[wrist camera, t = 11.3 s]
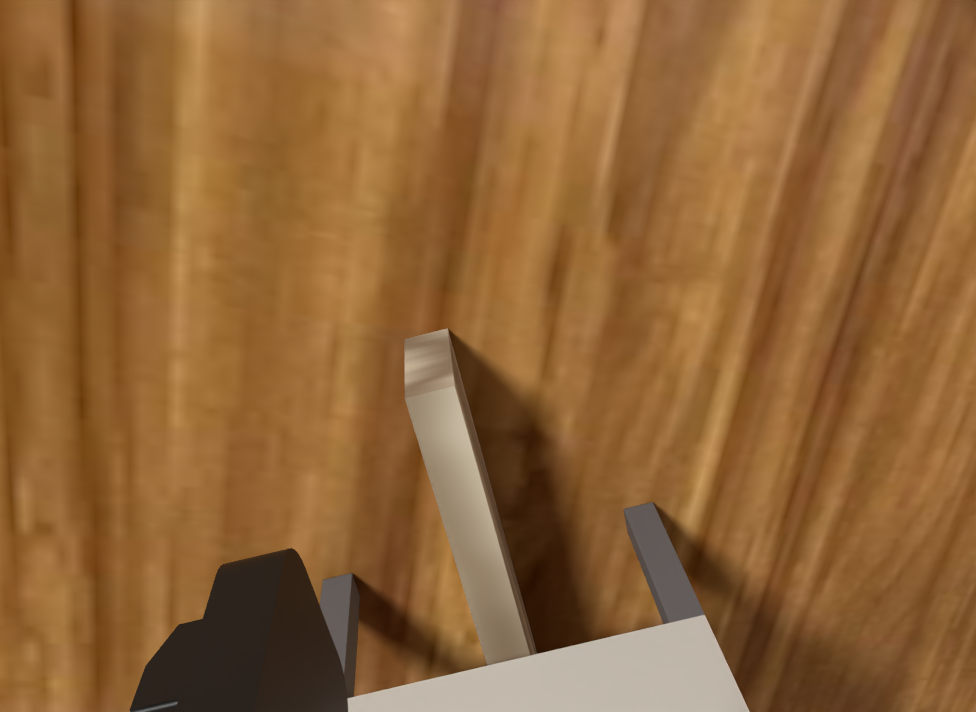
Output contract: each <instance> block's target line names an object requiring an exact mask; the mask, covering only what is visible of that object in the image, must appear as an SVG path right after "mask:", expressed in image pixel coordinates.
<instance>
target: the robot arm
mask: <svg viewBox="0 0 976 712" xmlns="http://www.w3.org/2000/svg"><path fill="white" fill-rule="evenodd" d="M130 712H348V698H347V690H346V683H345V678H344V673H343V669H342V665H341V661H340V658H339V655H338V652H337V650H336V647H335V645H334V642H333V639H332V637H331V634H330V631H329V629H328V626H327V624H326V621H325V618H324V616H323V613H322V611H321V608H320V605H319V603H318V600H317V597H316V595H315V592H314V590H313V587H312V584H311V582H310V579H309V577H308V574H307V571H306V569H305V566H304V564H303V561H302V559H301V558H300V556H299V554H298V553H297V552H296V551H295V550H294V549H292V548H291V549H286V550H282V551H277V552H273V553H269V554H264V555H260V556H256V557H252V558H247V559H243V560H239V561H235V562H230V563H226V564H223V565H221V566H220V568H219V569H218V571H217V574H216V577H215V580H214V583H213V587H212V590H211V593H210V597H209V600H208V603H207V607H206V610H205V613H204V617H203V619H201V620H197V621H192V622H188V623H184V624H179V625H178V626H177V627H176V629H175V630H174V631H173V632H172V634H171V635H170V636H169V637H168V639H167V640H166V641H165V642H164V644H163V645H162V646H161V647H160V649H159V650H158V651H157V652H156V654H155V655H154V656H153V657H152V659H151V660H150V661H149V662H148V664H147V665H146V666H145V669H144V672H143V675H142V677H141V680H140V683H139V686H138V688H137V691H136V694H135V697H134V699H133V702H132V705H131V708H130Z"/></svg>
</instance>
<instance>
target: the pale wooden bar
mask: <svg viewBox="0 0 976 712" xmlns="http://www.w3.org/2000/svg"><path fill="white" fill-rule="evenodd" d="M405 400H406V404H407V407H408V410H409V413H410V417H411V420H412V423H413V426H414V430H415V433H416V436H417V439H418V443H419V446H420V449H421V452H422V456H423V459H424V462H425V465H426V469H427V472H428V475H429V478H430V482H431V485H432V488H433V491H434V495H435V498H436V501H437V504H438V508H439V511H440V514H441V517H442V520H443V524H444V527H445V530H446V533H447V537H448V540H449V543H450V546H451V550H452V553H453V556H454V559H455V563H456V566H457V569H458V572H459V576H460V579H461V582H462V585H463V589H464V592H465V595H466V598H467V602H468V605H469V608H470V611H471V615H472V618H473V621H474V624H475V628H476V631H477V634H478V637H479V641H480V644H481V647H482V650H483V653H484V657H485V660H486V663H487V666H488V665H492V664H497V663H501V662H505V661H509V660H514V659H518V658H522V657H526V656H531V655H535V654H537V651H536V647H535V643H534V640H533V636H532V632H531V629H530V625H529V622H528V618H527V614H526V611H525V607H524V603H523V600H522V596H521V593H520V589H519V585H518V582H517V578H516V574H515V571H514V567H513V563H512V560H511V556H510V553H509V549H508V545H507V542H506V538H505V534H504V531H503V527H502V524H501V520H500V516H499V513H498V509H497V505H496V502H495V498H494V495H493V491H492V487H491V484H490V480H489V476H488V473H487V469H486V466H485V462H484V458H483V455H482V451H481V447H480V444H479V440H478V437H477V433H476V429H475V426H474V422H473V418H472V415H471V411H470V408H469V404H468V400H467V397H466V393H465V389H464V386H463V382H462V379H461V375H460V371H459V368H458V364H457V360H456V357H455V353H454V349H453V346H452V342H451V339H450V335H449V331H448V329H444V330H440V331H436V332H432V333H428V334H424V335H420V336H416V337H412V338H408V339H405Z"/></svg>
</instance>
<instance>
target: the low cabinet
mask: <svg viewBox="0 0 976 712" xmlns="http://www.w3.org/2000/svg"><path fill="white" fill-rule="evenodd" d="M624 514H625V519H626V525H627V530H628V534H629V537H630V539H631V542H632V544H633V547H634V550H635V552H636V555H637V557H638V560H639V562H640V565H641V567H642V570H643V572H644V575H645V577H646V580H647V583H648V585H649V588H650V590H651V593H652V595H653V598H654V600H655V603H656V605H657V608H658V610H659V613H660V615H661V618H662V621H663V623H664V624H663V625H659V626H654V627H650V628H646V629H642V630H637V631H633V632H629V633H624V634H620V635H616V636H612V637H607V638H603V639H599V640H595V641H590V642H586V643H582V644H578V645H573V646H569V647H565V648H561V649H556V650H552V651H548V652H543V653H539V654H535V655H531V656H526V657H522V658H518V659H514V660H509V661H505V662H501V663H497V664H492V665H488V666H484V667H480V668H475V669H471V670H467V671H462V672H458V673H454V674H450V675H445V676H441V677H437V678H433V679H428V680H424V681H420V682H416V683H411V684H407V685H403V686H399V687H394V688H390V689H386V690H381V691H377V692H373V693H369V694H364V695H360V696H356V697H354V685H355V669H356V653H357V638H358V622H359V606H360V595H359V592H358V589H357V586H356V583H355V580H354V578H353V575H352V573H351V574H347V575H342V576H338V577H334V578H330V579H325V580H323V584H322V592H321V600H320V608H321V611H322V613H323V616H324V618H325V621H326V624H327V626H328V629H329V631H330V634H331V637H332V639H333V642H334V645H335V647H336V650H337V652H338V655H339V658H340V661H341V665H342V669H343V673H344V678H345V683H346V690H347V698H348V712H749V709H748V707H747V705H746V703H745V701H744V699H743V696H742V694H741V692H740V690H739V688H738V686H737V683H736V681H735V679H734V677H733V675H732V673H731V670H730V668H729V666H728V664H727V662H726V660H725V658H724V655H723V653H722V651H721V649H720V647H719V645H718V642H717V640H716V638H715V636H714V634H713V632H712V629H711V627H710V625H709V623H708V621H707V619H706V616H705V614H704V612H703V610H702V608H701V606H700V603H699V601H698V599H697V597H696V595H695V593H694V590H693V588H692V586H691V584H690V582H689V580H688V577H687V575H686V573H685V571H684V569H683V567H682V564H681V562H680V560H679V558H678V556H677V554H676V551H675V549H674V547H673V545H672V543H671V541H670V539H669V536H668V534H667V532H666V530H665V528H664V526H663V523H662V521H661V519H660V517H659V515H658V513H657V510H656V508H655V506H654V504H653V502H652V503H648V504H644V505H639V506H635V507H631V508H627V509H624Z"/></svg>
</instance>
